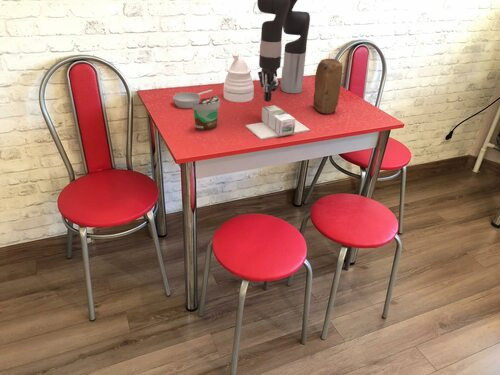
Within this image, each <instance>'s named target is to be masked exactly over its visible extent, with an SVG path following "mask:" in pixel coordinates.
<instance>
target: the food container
mask: <svg viewBox="0 0 500 375" xmlns="http://www.w3.org/2000/svg"><path fill="white" fill-rule="evenodd" d="M220 107H221V100H220V97H218V96H217V95H215V94H212V97H210V98H206V99H203V100H202V101H200V102H199V104H194V103H193V107H192V108H191V109H192V110H193V118H194V126H195V130H197V129H198V131H211V129H212V130H215V129H216V128H217V127H218V116H219V108H220Z"/></svg>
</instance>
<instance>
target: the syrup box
mask: <svg viewBox="0 0 500 375" xmlns="http://www.w3.org/2000/svg"><path fill="white" fill-rule="evenodd" d="M295 120H296V118H295V117H294V116H292V115H291V114H290V113H287V111H285V110H283V109H282V108H281V107H279V106H277V105H276V104H273V105H267V106H262V108H261V121H262V122H264V123H265V124H267V125H268V126H269V127H271V128H272V129H273V130H274V131H276V132H277V133H278V134H279V135H285V134H290V133H294V130H295ZM285 136H286V135H285Z"/></svg>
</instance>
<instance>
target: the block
mask: <svg viewBox="0 0 500 375" xmlns="http://www.w3.org/2000/svg"><path fill="white" fill-rule="evenodd" d="M342 76H343V63H342V62H340V61H339V60H338V59H334V58H324V59H321V60H320V61H319V63H318V65H317V66H316V70H315V78H314V94H313V102H312V103H313V107H314V108H315V109H316V111H317V112H319V113H321V114H327V115H328V114H329V115H330V114H332V113H333V112H335V111H336V109H337V106H338V105H339V99H340V93H341V88H342V87H341V86H342Z"/></svg>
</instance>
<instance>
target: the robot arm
mask: <svg viewBox="0 0 500 375" xmlns="http://www.w3.org/2000/svg"><path fill="white" fill-rule="evenodd" d="M298 1H299V0H257V3H256V4H257V8H258V10H259V11H260V12H261V13H264V14H269V15H275V16H274V17H273V18H274V19H273V20H266V21H263V22H262V24H261V35H260V44H259V58H258V59H259V62H258V66H259V67H260V68H261V71H258V72H257V75H258V79H259V83H260V87H261V88H263V89H262V90H263V92H264V93H263V100H264V102H267V103H269V102H271V101H272V93H273V92H276V91H277V89H278V88H279V86H280V88H281V91H282V92H284V93H288V94H299V93H302V91H303V82H304V72H305V63H306V55H307V43H308V38H309V37H308V36H309V29H310V24H311V23H310V22H311V15H310V13H309V11H308V12H307V11H299V10H293V9H294V6H296V3H297V2H298ZM283 32H284V34H286V35H290V36H291V35H292V36H300V37H299V38H296V39H295V40H293V41H290V42H287V43H286V44H284V45H285V46H284V54H283V66H282V69H281V79H280V80H278V78H277V77H278V69H280V68H281V60H282V40H283V39H282V38H283Z"/></svg>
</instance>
